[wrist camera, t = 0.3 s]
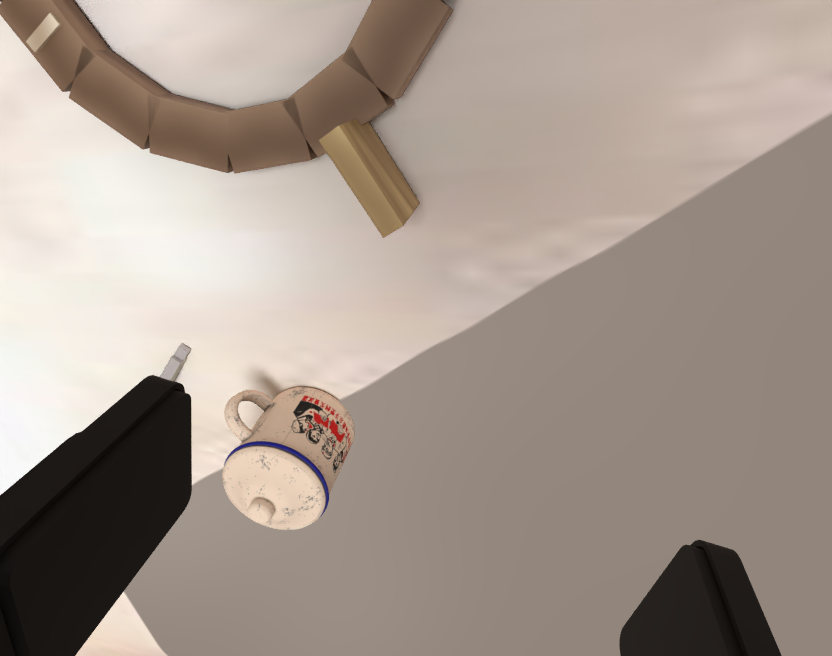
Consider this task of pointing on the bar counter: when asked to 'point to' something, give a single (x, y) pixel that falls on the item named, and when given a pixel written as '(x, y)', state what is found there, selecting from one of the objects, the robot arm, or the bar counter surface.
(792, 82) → the bar counter surface
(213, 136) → the turning ring
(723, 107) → the bar counter surface
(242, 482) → the teacup with lid
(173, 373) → the caliper
